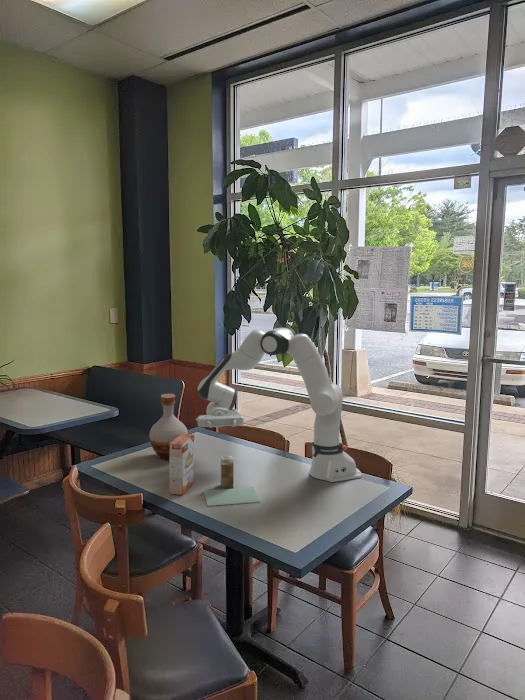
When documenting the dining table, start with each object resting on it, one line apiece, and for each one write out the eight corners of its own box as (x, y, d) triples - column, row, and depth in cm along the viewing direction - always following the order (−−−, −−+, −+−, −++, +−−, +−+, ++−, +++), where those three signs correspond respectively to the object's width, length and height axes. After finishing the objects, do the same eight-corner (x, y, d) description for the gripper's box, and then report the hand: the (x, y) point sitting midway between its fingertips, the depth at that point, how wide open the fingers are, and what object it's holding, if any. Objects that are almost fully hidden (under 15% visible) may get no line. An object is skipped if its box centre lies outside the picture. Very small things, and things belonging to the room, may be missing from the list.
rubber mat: (252, 488, 213) (252, 487, 213) (260, 502, 199) (260, 501, 199) (203, 491, 209) (203, 490, 209) (207, 506, 195) (207, 505, 195)
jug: (147, 451, 256) (146, 391, 252) (184, 448, 262) (183, 389, 258) (151, 465, 238) (150, 400, 234) (191, 461, 243) (190, 398, 239)
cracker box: (183, 496, 204) (183, 444, 202) (169, 494, 206) (168, 443, 203) (195, 482, 218) (194, 433, 215) (181, 481, 219) (180, 432, 216)
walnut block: (231, 483, 217) (231, 455, 216) (233, 487, 213) (233, 459, 211) (220, 484, 216) (220, 456, 215) (222, 488, 212) (222, 460, 210)
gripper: (195, 411, 235) (198, 419, 222) (240, 409, 239) (245, 417, 226) (195, 424, 236) (198, 433, 223) (240, 422, 240) (245, 431, 227)
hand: (222, 425), depth 224 cm, fingers open, 8 cm apart
